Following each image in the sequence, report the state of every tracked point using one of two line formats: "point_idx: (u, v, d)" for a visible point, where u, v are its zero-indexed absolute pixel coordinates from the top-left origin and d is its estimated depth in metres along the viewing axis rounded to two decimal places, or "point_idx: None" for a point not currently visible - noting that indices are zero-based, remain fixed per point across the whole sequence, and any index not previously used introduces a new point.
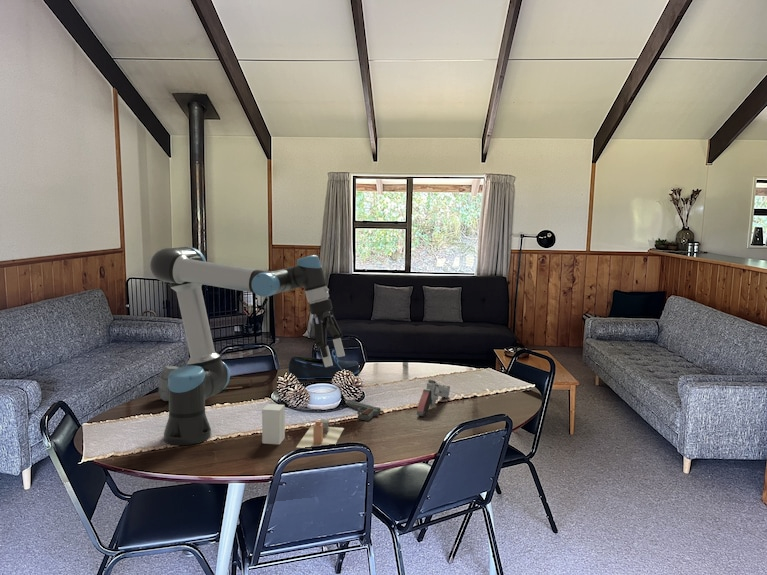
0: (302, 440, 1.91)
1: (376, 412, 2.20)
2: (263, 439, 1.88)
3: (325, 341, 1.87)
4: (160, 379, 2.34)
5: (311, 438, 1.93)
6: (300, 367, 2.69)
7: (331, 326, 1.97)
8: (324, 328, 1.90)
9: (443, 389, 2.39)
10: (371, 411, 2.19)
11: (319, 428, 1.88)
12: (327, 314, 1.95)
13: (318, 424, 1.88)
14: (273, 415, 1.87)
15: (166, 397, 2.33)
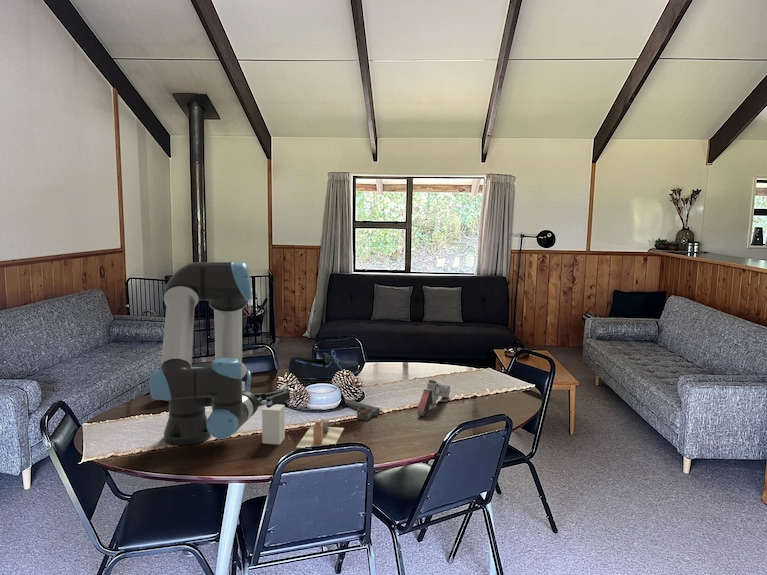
0: (302, 440, 1.91)
1: (375, 412, 2.20)
2: (263, 439, 1.88)
3: None
4: None
5: (311, 438, 1.93)
6: (300, 367, 2.68)
7: None
8: None
9: (443, 389, 2.39)
10: (370, 411, 2.19)
11: (319, 428, 1.88)
12: None
13: (318, 424, 1.88)
14: (273, 415, 1.87)
15: None
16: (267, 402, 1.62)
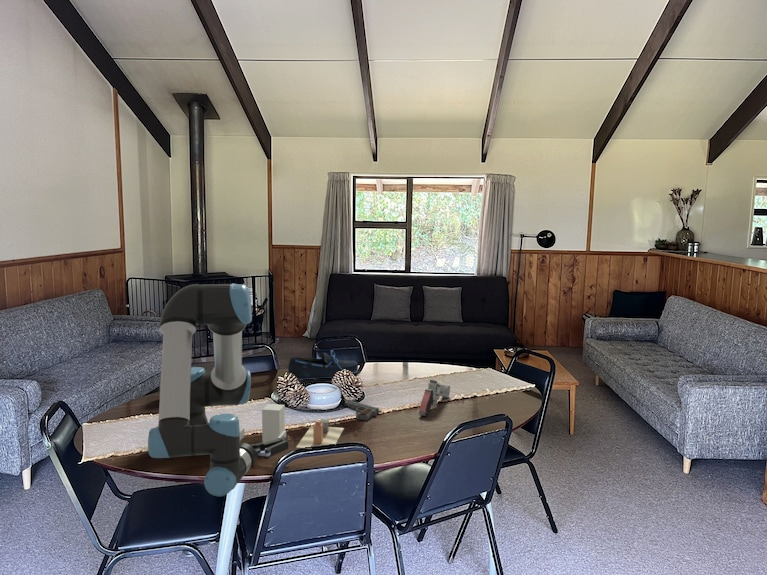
0: (302, 440, 1.91)
1: (374, 412, 2.20)
2: (263, 439, 1.88)
3: None
4: None
5: (311, 438, 1.93)
6: (300, 367, 2.68)
7: None
8: None
9: (444, 389, 2.39)
10: (369, 411, 2.19)
11: (319, 428, 1.88)
12: None
13: (318, 424, 1.88)
14: (273, 415, 1.87)
15: None
16: (265, 453, 1.63)
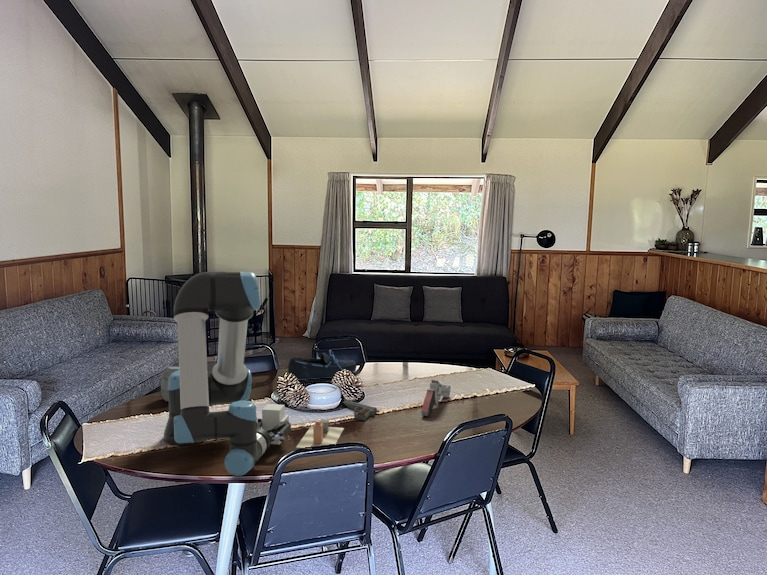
0: (302, 440, 1.91)
1: (372, 412, 2.20)
2: None
3: None
4: (162, 379, 2.34)
5: (311, 438, 1.93)
6: (301, 368, 2.67)
7: None
8: None
9: (445, 389, 2.39)
10: (367, 411, 2.19)
11: (319, 428, 1.88)
12: None
13: (318, 424, 1.88)
14: (273, 415, 1.87)
15: (168, 397, 2.32)
16: (281, 436, 1.77)
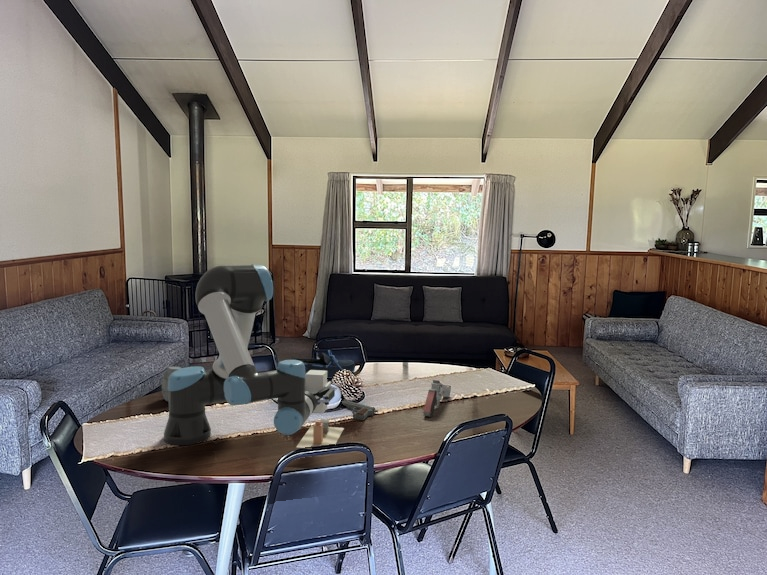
0: (302, 440, 1.91)
1: (371, 412, 2.20)
2: None
3: None
4: (163, 379, 2.34)
5: (311, 438, 1.93)
6: None
7: None
8: None
9: (445, 389, 2.40)
10: (366, 411, 2.19)
11: (319, 428, 1.88)
12: None
13: (318, 424, 1.88)
14: (317, 380, 1.84)
15: None
16: (326, 400, 1.75)
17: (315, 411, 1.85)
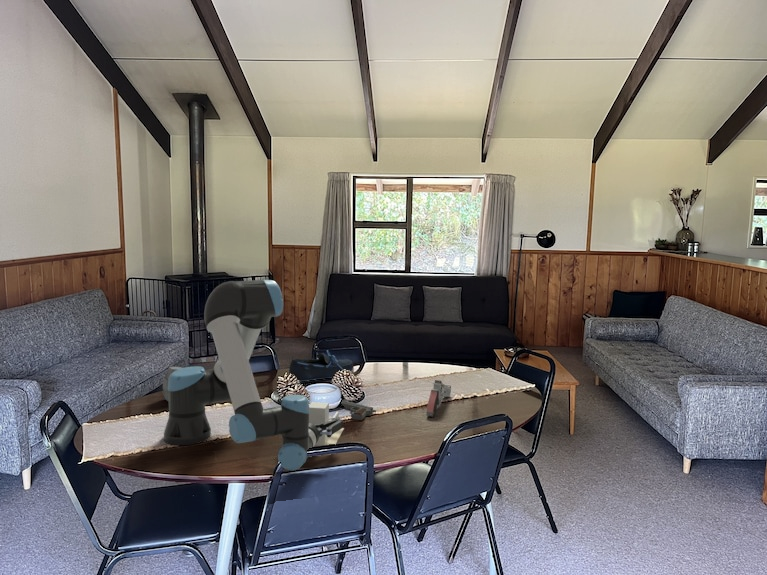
0: None
1: (369, 411, 2.20)
2: None
3: None
4: (164, 380, 2.34)
5: None
6: (303, 369, 2.65)
7: None
8: None
9: (446, 389, 2.40)
10: (364, 410, 2.20)
11: None
12: None
13: None
14: (318, 413, 1.86)
15: None
16: (328, 432, 1.76)
17: (317, 444, 1.87)
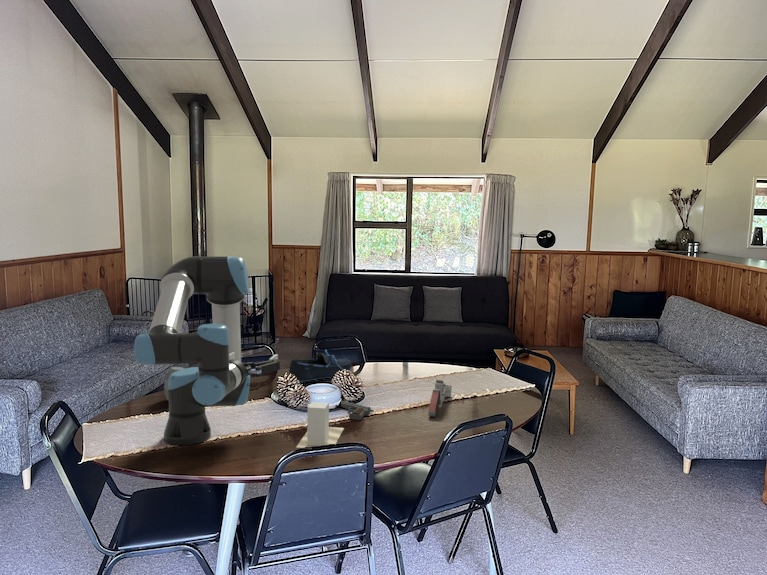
0: (302, 440, 1.91)
1: (367, 411, 2.20)
2: (308, 437, 1.87)
3: None
4: (165, 380, 2.33)
5: None
6: (303, 369, 2.64)
7: None
8: None
9: (447, 389, 2.40)
10: (362, 410, 2.20)
11: None
12: None
13: None
14: (318, 413, 1.86)
15: None
16: (256, 371, 1.59)
17: (317, 444, 1.87)
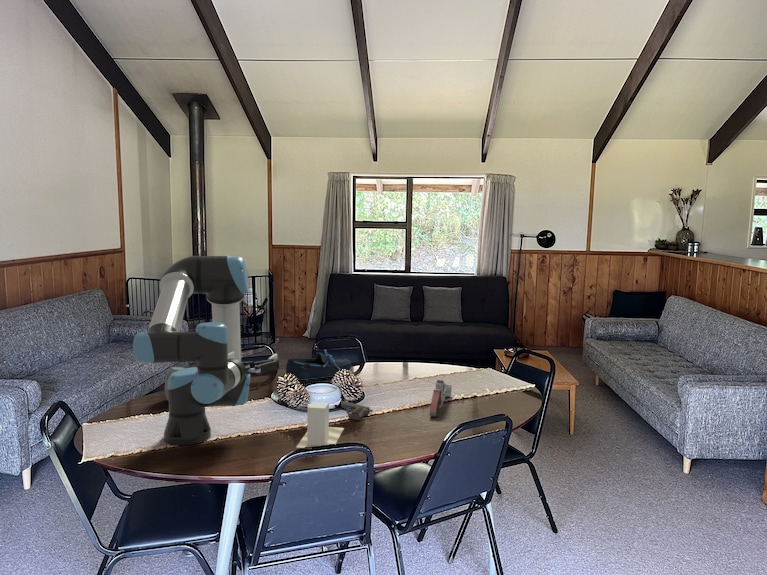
0: (302, 440, 1.91)
1: (366, 411, 2.20)
2: (308, 437, 1.87)
3: None
4: (166, 380, 2.33)
5: None
6: (299, 368, 2.66)
7: None
8: None
9: (448, 389, 2.40)
10: (361, 410, 2.20)
11: None
12: None
13: None
14: (318, 413, 1.86)
15: None
16: (255, 370, 1.59)
17: (317, 444, 1.87)
